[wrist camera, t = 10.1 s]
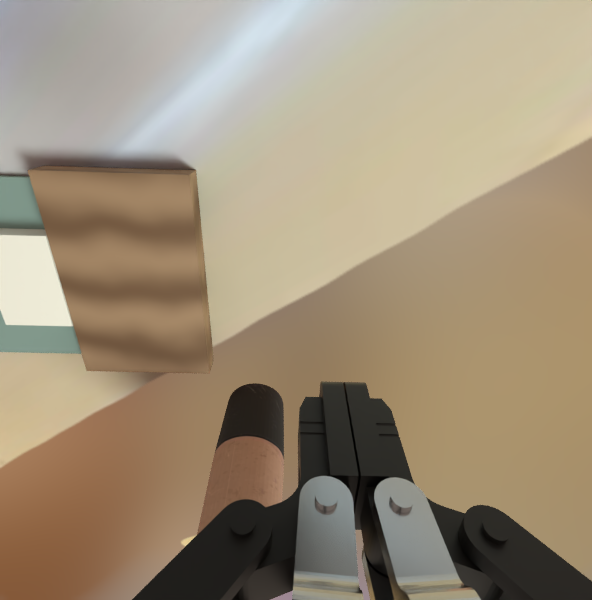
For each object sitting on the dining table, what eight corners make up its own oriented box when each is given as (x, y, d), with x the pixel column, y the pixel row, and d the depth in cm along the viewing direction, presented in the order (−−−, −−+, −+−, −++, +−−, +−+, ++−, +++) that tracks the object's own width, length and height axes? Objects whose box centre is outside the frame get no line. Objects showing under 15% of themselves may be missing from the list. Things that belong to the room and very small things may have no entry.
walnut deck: (44, 165, 35) (27, 170, 32) (195, 170, 35) (189, 174, 33) (97, 357, 45) (86, 370, 43) (213, 360, 45) (209, 373, 43)
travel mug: (283, 427, 51) (277, 602, 33) (226, 423, 50) (189, 598, 33) (287, 383, 47) (283, 553, 29) (226, 379, 47) (184, 548, 29)
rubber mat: (-99, 172, 35) (-105, 173, 34) (42, 176, 35) (38, 177, 35) (-20, 348, 44) (-24, 351, 44) (90, 350, 45) (88, 353, 44)
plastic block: (-15, 227, 37) (-30, 234, 35) (57, 229, 37) (45, 236, 35) (18, 315, 42) (5, 324, 40) (81, 316, 42) (72, 326, 40)
